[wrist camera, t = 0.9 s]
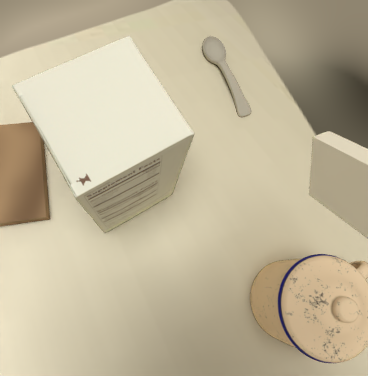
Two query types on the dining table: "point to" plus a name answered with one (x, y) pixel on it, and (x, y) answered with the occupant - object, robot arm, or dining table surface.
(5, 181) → the walnut board
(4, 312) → the dining table surface
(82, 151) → the supplement box
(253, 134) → the dining table surface
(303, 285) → the teacup with lid
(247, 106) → the spoon
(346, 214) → the robot arm
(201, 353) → the dining table surface
